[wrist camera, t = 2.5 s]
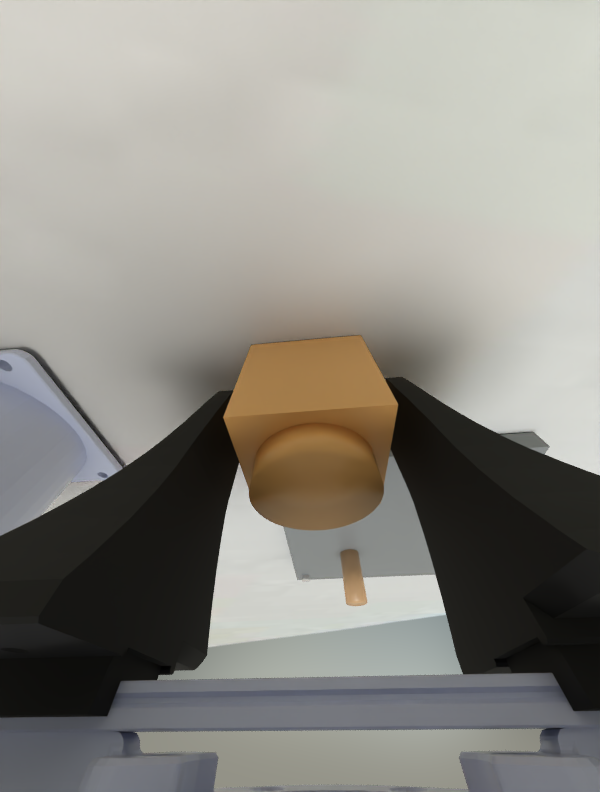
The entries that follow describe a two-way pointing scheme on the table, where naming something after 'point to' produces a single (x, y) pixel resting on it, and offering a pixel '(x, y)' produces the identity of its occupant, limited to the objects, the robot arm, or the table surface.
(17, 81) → the table surface
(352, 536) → the plate
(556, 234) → the table surface
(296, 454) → the cube with round knob
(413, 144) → the table surface
